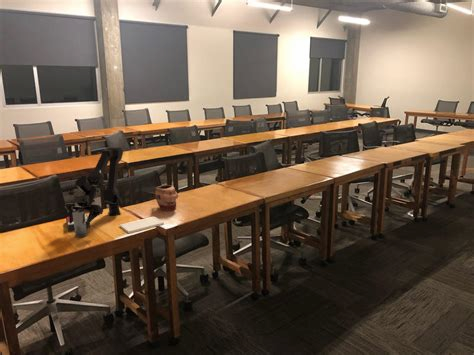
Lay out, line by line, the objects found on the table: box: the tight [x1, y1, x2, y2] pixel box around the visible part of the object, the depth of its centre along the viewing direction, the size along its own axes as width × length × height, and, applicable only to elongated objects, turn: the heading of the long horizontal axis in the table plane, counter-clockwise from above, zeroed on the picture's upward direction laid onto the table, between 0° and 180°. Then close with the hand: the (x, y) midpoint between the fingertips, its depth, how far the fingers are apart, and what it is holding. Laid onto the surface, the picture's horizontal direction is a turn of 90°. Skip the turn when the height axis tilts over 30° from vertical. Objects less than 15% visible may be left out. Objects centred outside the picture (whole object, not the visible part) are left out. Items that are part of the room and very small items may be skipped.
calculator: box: [65, 213, 91, 232], centre depth 207 cm, size 11×4×15 cm
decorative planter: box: [154, 184, 179, 211], centre depth 231 cm, size 20×12×14 cm, turn 51°
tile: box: [119, 216, 165, 234], centre depth 205 cm, size 20×12×1 cm, turn 128°
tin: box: [72, 210, 88, 239], centre depth 191 cm, size 6×6×13 cm
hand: (78, 223), depth 190 cm, fingers open, 9 cm apart
